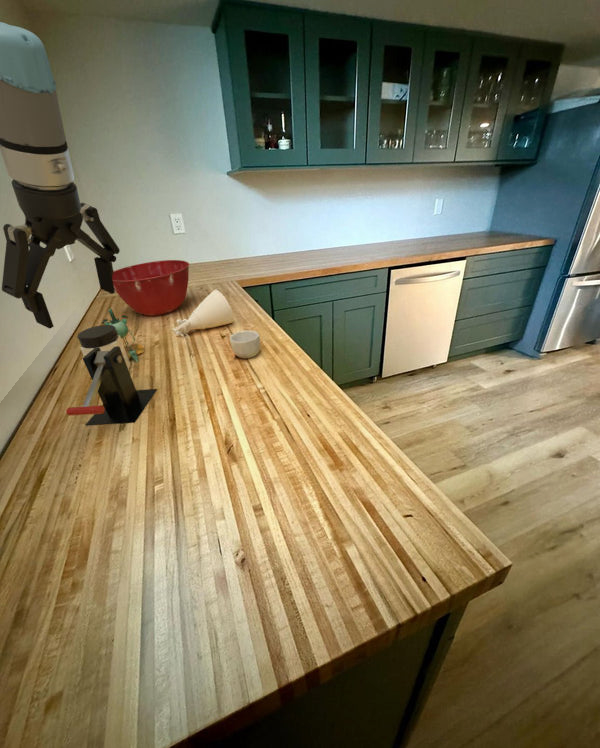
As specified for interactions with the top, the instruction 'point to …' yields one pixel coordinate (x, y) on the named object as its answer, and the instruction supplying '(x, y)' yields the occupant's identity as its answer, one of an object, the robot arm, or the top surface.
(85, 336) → the jar
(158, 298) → the mixing bowl
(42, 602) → the top surface
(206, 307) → the rocket engine
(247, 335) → the teacup
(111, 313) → the frog figurine
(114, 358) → the bracket
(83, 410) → the lever
